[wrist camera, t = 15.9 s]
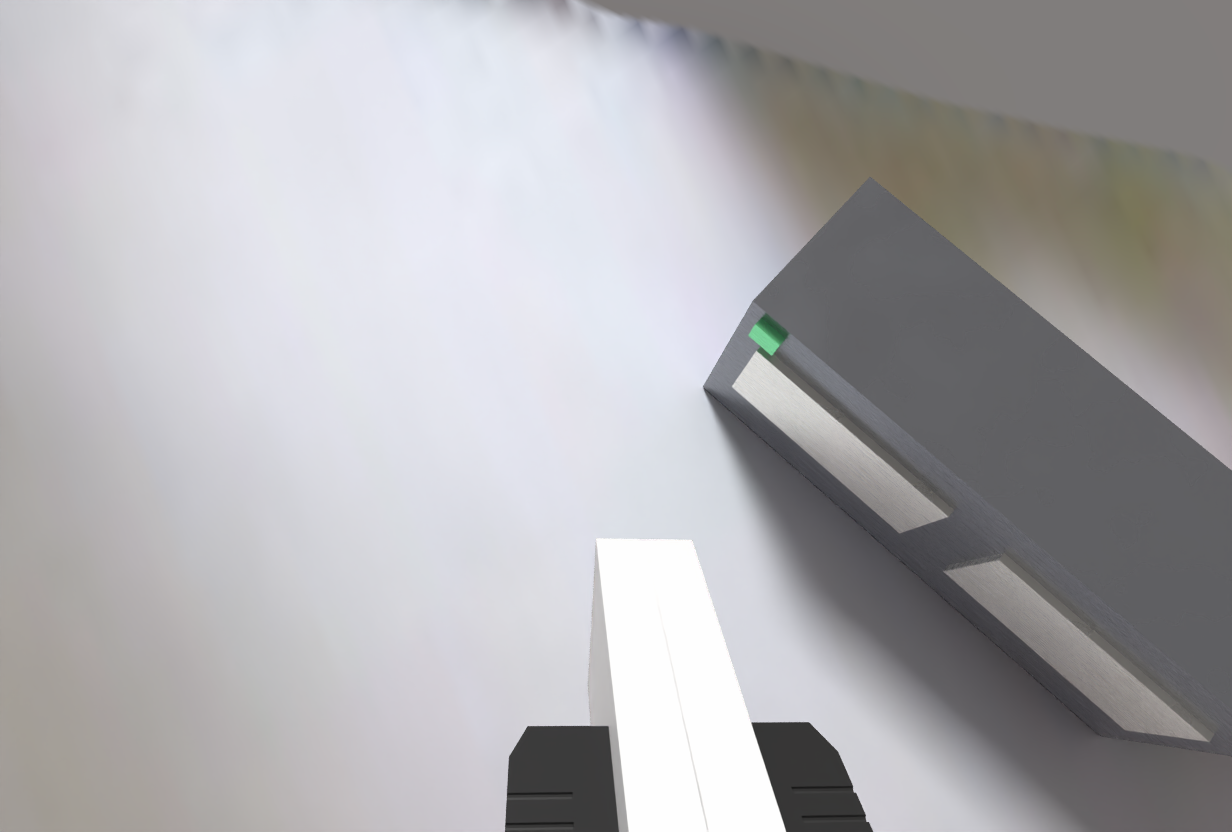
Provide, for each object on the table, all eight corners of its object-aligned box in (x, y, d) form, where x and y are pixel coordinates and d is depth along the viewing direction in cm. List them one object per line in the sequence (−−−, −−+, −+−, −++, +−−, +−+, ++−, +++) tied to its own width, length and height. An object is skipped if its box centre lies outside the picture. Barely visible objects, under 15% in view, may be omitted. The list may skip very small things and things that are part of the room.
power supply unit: (1095, 741, 33) (1292, 774, 24) (697, 392, 35) (746, 307, 27) (1181, 615, 34) (1395, 603, 26) (794, 288, 37) (870, 176, 28)
